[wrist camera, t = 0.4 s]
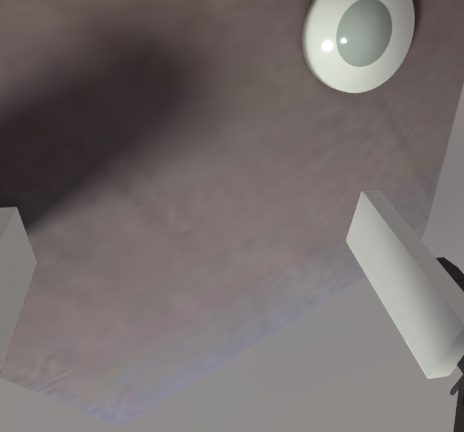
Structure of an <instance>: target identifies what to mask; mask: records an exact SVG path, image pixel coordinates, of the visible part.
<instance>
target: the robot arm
mask: <svg viewBox="0 0 464 432" xmlns="http://www.w3.org/2000/svg"><path fill="white" fill-rule="evenodd" d="M346 242H347V244H348V246H349V247H350V249H351V251H352V252H353V254H354V256H355V257H356V259H357V261H358V262H359V264H360V266H361V267H362V269H363V271H364V272H365V274H366V276H367V277H368V279H369V281H370V283H371V284H372V286H373V288H374V289H375V291H376V293H377V294H378V296H379V297H380V299H381V301H382V303H383V304H384V306H385V308H386V309H387V311H388V313H389V315H390V316H391V318H392V320H393V321H394V323H395V325H396V326H397V328H398V330H399V331H400V333H401V335H402V336H403V338H404V340H405V341H406V343H407V345H408V347H409V348H410V350H411V351H412V353H413V355H414V357H415V358H416V360H417V362H418V363H419V365H420V367H421V368H422V370H423V372H424V373H425V375H426V377H427V378H428V379H430V378H437V377H444V376H449V375H450V374H451V373H452V371H453V370H454V368H455V367H456V366H457V365H458V367H459V368H460V370H461V371H462V373H463V376H462V377H461V378H460V379H459V381H458V382H457V383H456V384H455V386H454V387H453V388H452V390H451V392H450V394H451V395H454V394H455V393H456V391H457V390H459V391H458V400H457V407H456V416H455V424H454V432H464V274H463V273H462V272H461V271H460V269H459V268H458V267H456V266H455V265H453V264H452V263H451V262H449V261H448V260H446V259H445V258H444V257H442V258H435V257H434V256H433V254H431V252H430V251H429V250H428V248H427V247H426V246H425V245H424V243H423V242H422V241H421V240H420V239H419V237H418V236H417V235H416V234H415V233H414V231H413V230H412V229H411V228H410V226H409V225H408V224H407V223H406V222H405V220H404V219H403V218H402V217H401V216H400V214H399V213H398V212H397V211H396V210H395V208H394V207H393V206H392V205H391V203H390V202H389V201H388V200H387V199H386V197H385V196H384V195H383V194H382V193H381V191H380V190H364V191H362V192H361V195H360V198H359V201H358V204H357V208H356V211H355V214H354V217H353V220H352V223H351V226H350V229H349V232H348V236H347V239H346ZM36 264H37V262H36V259H35V256H34V254H33V251H32V248H31V245H30V242H29V240H28V237H27V234H26V231H25V228H24V226H23V223H22V220H21V217H20V215H19V212H18V209H17V207H6V208H0V373H1V369H2V366H3V363H4V360H5V357H6V354H7V351H8V348H9V345H10V342H11V339H12V336H13V333H14V330H15V327H16V324H17V321H18V318H19V315H20V312H21V309H22V306H23V303H24V300H25V297H26V294H27V291H28V288H29V285H30V282H31V279H32V276H33V273H34V270H35V267H36Z"/></svg>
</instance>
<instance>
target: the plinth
mask: <svg viewBox="0 0 464 432" xmlns="http://www.w3.org/2000/svg"><path fill="white" fill-rule="evenodd" d="M414 23H415V15H414V6H413V1H412V0H311V2H310V4H309V6H308V8H307V11H306V14H305V16H304V20H303V24H302V31H301V46H302V53H303V57H304V60H305V63H306V65H307V67H308V69H309V70H310V72H311V73H312V75H313V76H314V77H315V78H316V79H317V80H318V81H319V82H321V83H322V84H324V85H325V86H328V87H330V88H333V89H337V90H340V91H344V92H349V93H360V92H365V91H369V90H371V89H374V88H376V87H378V86H379V85H381V84H382V83H384V82H385V81H386V80H388V79H389V78H390V77H391V76H392V75H393V74H394V73H395V71H396V70H397V69H398V68H399V66H400V65H401V63H402V62H403V60H404V58H405V56H406V54H407V52H408V50H409V47H410V44H411V41H412V37H413V32H414Z"/></svg>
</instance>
